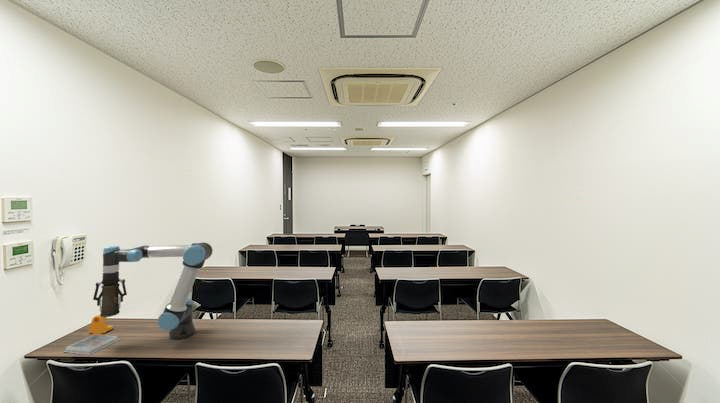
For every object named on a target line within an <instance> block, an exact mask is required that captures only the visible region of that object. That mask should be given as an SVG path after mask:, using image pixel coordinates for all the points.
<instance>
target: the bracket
mask: <svg viewBox="0 0 720 403" xmlns="http://www.w3.org/2000/svg"><path fill="white" fill-rule="evenodd" d="M106 320H107V317H101V316H100V314H98V315H97V314H96V316H94V317H93V318H92V320H91V322H90V325H89V328H88V331H87V333H88V334H92V335H95V334H96V335H103V334H105V333H107V332H108V331H109V332H110V331H111V330H112V329H113V327H114V325H107V324H106V323H107V322H106Z"/></svg>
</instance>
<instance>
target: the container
mask: <svg viewBox="0 0 720 403" xmlns="http://www.w3.org/2000/svg"><path fill="white" fill-rule="evenodd" d="M118 288H119V289H120V282H118V284H117V285H110V286H104V285H103V284H102V285H101V291H102V290H103V293H102V294H103V295H102V297H101V299H102V303H101V311H100V314H99V315H100V316H101V317H106V318H109V317H113V316H116V315H119V314H120V308H119V296H120V295H119V293H118V292H119V291H118Z"/></svg>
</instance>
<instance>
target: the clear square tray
mask: <svg viewBox="0 0 720 403" xmlns="http://www.w3.org/2000/svg"><path fill="white" fill-rule="evenodd" d="M119 341H120V338H118V336H117V335H110V334H109V335H108V334H107V335H106V334H92V335H90V336H87V337H85V338H83V339H81V340H79V341H77V342H75V343H72V344H69V345H67V346H66V347H65V350H63V351H62V353H63V352H70V353H69V354H72V353H76V354H75V355H85V356H87V355H88V356H90V355H93V354H95V353H97V352H98V351H101V350H103V349H105V348H107V347H109V346H110V345H113V344H115V343H117V342H119Z"/></svg>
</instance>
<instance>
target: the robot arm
mask: <svg viewBox="0 0 720 403" xmlns="http://www.w3.org/2000/svg"><path fill="white" fill-rule="evenodd" d="M212 255H213V247H212V246H211V244H209V243H207V242H196V243H191V244H178V245H176V244H175V245H172V244H171V245H141V246H138V247H133V248H130V249H120V246H119V245H107V246H105V247H103V250H102V272H103V273H102V281H100V282H95V291H94V294H93V298H92V300H93V301H97V302H96V306H97V307H99V312H101V307H102V295H103V294H102V293H103V290H102V289H101V291H100V293H99V288H100V286H103V285H104V286H110V285H117V284H118V283H121V286H122V289H123V290H121V289H120V287H119V288H118V291H119V292H118V293H119V309H121V306H122V305H121V303H122V302H123V301H124V296H127V293H128V292H127V289H126V284H125V283H126V279H125V278H123V279H120V271H119V270H120V263H136V262H140V261H141V260H142V259H145V258H146V259H148V258H176V257H177V258H178V257H179V258H181V257H182V260H183V261H182V265H183V268H182V270H181V273H180V275H179V279H178V281H177V283H176V286H175V289H174V292H173V294H172V296H171V299H170V302H168V303H166V305H165V307H164V310H163V312H162V313H161V314H160V315H159V316H158V318H157V320H156V321H157V325H158V327H159V328H160V329H161V330H163V331H167V332H169V333H168V338H169V339H171V340H174V341H176V340H183V339H188V338H189V337H192V336H194V335H195V334H196V327H195V324H194V321H193V319H194V318H193V312H194V311H193V310H194V309H193V308H194V306H193V305H194V304H193V300H192V299H190V298H189V297H190V294H191V291H192V288H193V286H194V283H195V281H196V278H197V276H198V273H199V271H200V270H201V269H203V267H204V264H205V262H206V260H208V259H210V258H211V256H212ZM122 291H123V292H122ZM98 293H99V295H98Z"/></svg>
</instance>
